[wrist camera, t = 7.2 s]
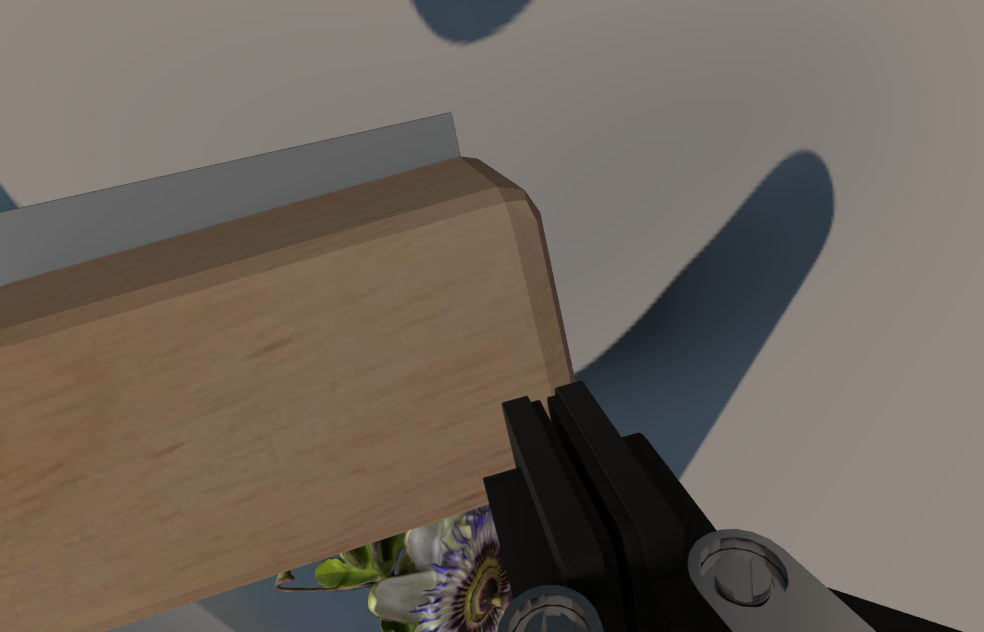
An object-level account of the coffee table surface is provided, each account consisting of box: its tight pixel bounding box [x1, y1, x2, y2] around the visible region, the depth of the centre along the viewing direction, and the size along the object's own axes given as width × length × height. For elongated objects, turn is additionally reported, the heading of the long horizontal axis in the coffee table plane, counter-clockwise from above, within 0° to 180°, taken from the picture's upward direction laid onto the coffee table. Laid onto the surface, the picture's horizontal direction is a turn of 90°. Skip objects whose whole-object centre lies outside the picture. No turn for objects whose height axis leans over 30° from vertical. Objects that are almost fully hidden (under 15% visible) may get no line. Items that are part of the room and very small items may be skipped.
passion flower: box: [275, 504, 513, 632], centre depth 26 cm, size 11×11×12 cm
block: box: [0, 156, 575, 632], centre depth 19 cm, size 10×10×20 cm
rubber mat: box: [0, 113, 460, 287], centre depth 23 cm, size 12×20×1 cm, turn 101°
